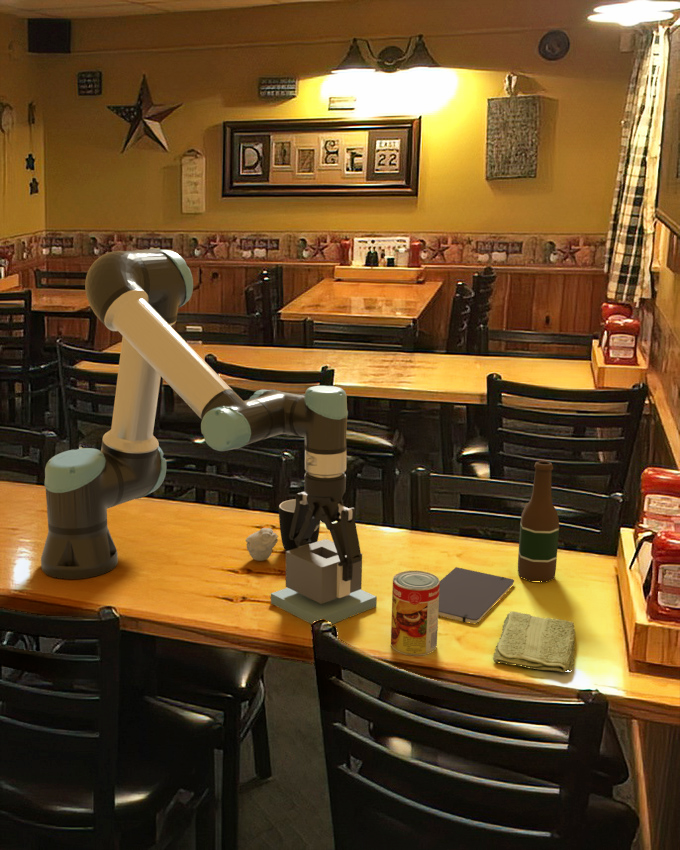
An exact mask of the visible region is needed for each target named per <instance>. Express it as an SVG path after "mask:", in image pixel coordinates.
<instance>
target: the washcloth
mask: <svg viewBox="0 0 680 850" xmlns="http://www.w3.org/2000/svg"><path fill="white" fill-rule="evenodd" d="M575 629H576V628H575V624H574V622H573V621H569V620H566V619H560V618H558V619H556V618H551V617H546V618H545V617H544V618H543V617H539V616H533V615H531V614H530V613H529V614H528V613H522V612H518V611H509V612H508V613H507V614H506V617H505V618H504V621H503V624H502V631H501V634H500V637H499V640H498V641H497V644H496V645H495V649H494V653H493V657H492V659H493V662H494V663H497V662H500V663H507V664H506V665H508V664H516V665H522V666H521V667H523V666H526V667H525V668H527V667H530V668H529V669H532V668H535V670H540V671H541V670H543V671H555V672H556V671H557V672H561V673H566V672H565V671H567V670H569V671H571V670H573V669H574V666H575V664H574V657H575V656H574V654H575V652H574V651H575V636H576V630H575ZM571 672H572V671H571Z"/></svg>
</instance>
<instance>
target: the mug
mask: <svg viewBox="0 0 680 850" xmlns="http://www.w3.org/2000/svg"><path fill="white" fill-rule="evenodd" d="M295 506H296V498H295V499H289V500H285V501H282V502H281V503H280V504H279V505H278V520H279V521H278V522H279V531H280V536H281V537H280V538H281V539H280V540H281V543H282V547H283V549H284V551H285V552H286V551H289V550H292V549H295V548H297V545H296V544H295V541H294V540H291V539H290V538H289V533H290V529H291V524H292V520H293V515H294V511H295ZM320 524H321V521H319V522H318V524H317V526H316V528H315V530H314V532H313V534H312V536H311V538H310V541H311V542H308V543H307V544H311V543H315V542H318V541H319V536H320V534H319V533H320V529H321V525H320ZM296 532H297V531H296Z"/></svg>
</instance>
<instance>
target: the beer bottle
mask: <svg viewBox="0 0 680 850" xmlns="http://www.w3.org/2000/svg"><path fill="white" fill-rule="evenodd" d="M533 468H534V469H535V470H534V478H533V485H532V492H531V497H530V500H529V501H528V503H526V505H525V506H524V507H523V510H522V512H521V514H520V515H521V517H520V524H519V538H518V541H519V542H518V556H517V572H518V575H519V578H520V577H522V578H525V579H527V580H530V581H540V582H541V581H542V582H546V581H548V582H550V581H549V580H551V579H553V580H555V578H556V571H557V559H558V558H557V557H558V545H559V535H560V534H559V533H560V518H559V515H558V511H557V510H556V507H555V506H554V504H553V499H552V475H553V474H552V471H553V470H554V466H553V464H552V462H550V461H546V460H539V461H536V462H535V464H534V467H533ZM522 578H521V579H522ZM527 580H526V581H527ZM530 581H529V582H530ZM551 581H552V580H551ZM546 583H547V582H546Z"/></svg>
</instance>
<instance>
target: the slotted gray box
mask: <svg viewBox="0 0 680 850" xmlns="http://www.w3.org/2000/svg"><path fill="white" fill-rule="evenodd" d="M345 557H347V556H345ZM361 557H362V558H363V553H361ZM337 563H340V559H339V556H338V553H337V550H336V547H335V545H334V542H333V540H331V539H328V538H325V539H321V540H318V541H317V542H315V543H311V544H308V545H305V546H302V547H299V548H295V549H292V550H289V551H285V588H289V589H292V590H294V591H296V592H298V593H300V594H302V595H304V596H306V597H308V598H310V599H312V600H314V601H316V602H318V603H320V604H323V603H325V602H328V601H331V600H333V599H336V598H338V597H337ZM362 571H363V559H362V560H361V561H360V562H357V563H354V564H353V572H352V580H350V593H352V592H355V591H357V590H360V589H361V590H362V582H363V580H362V579H363V578H362V577H363V575H362V574H363V573H362Z"/></svg>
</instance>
